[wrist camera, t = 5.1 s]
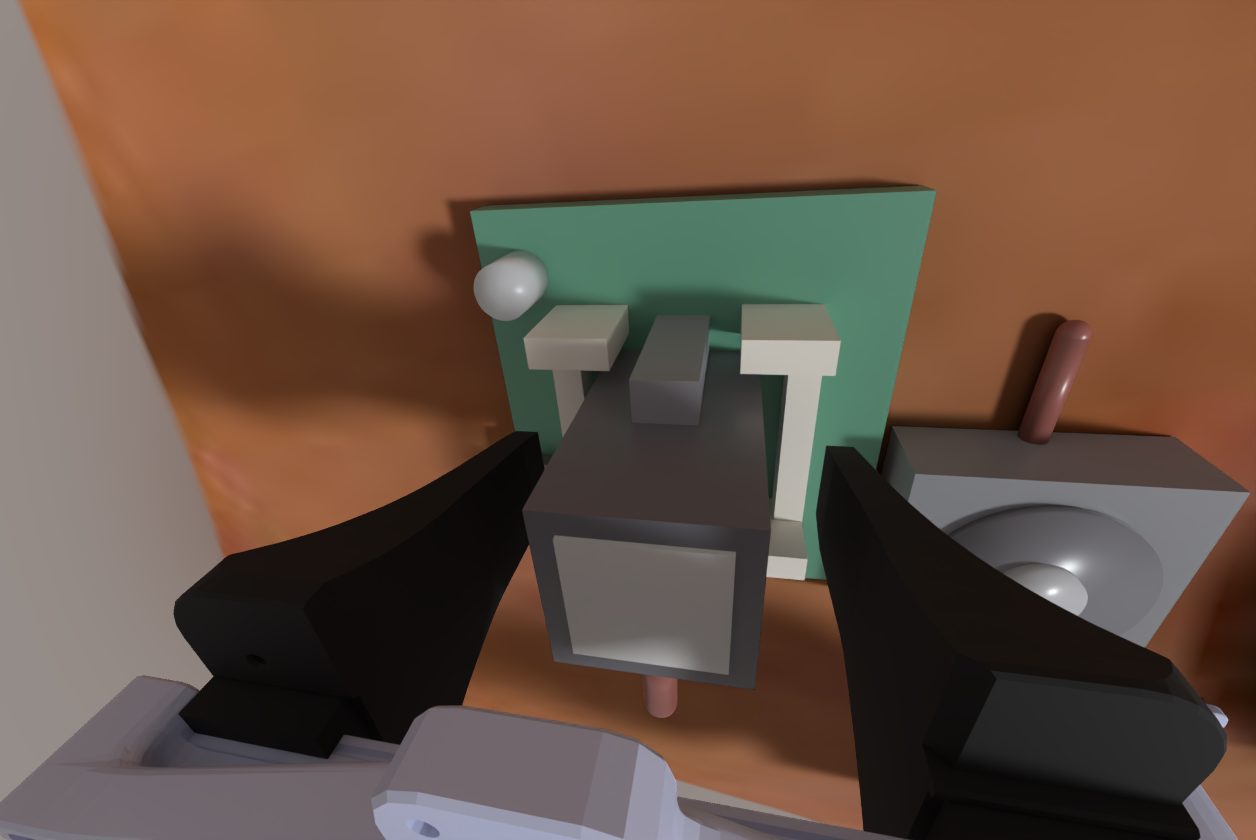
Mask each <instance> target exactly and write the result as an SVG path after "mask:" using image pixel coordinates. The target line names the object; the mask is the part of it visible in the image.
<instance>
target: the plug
mask: <svg viewBox="0 0 1256 840" xmlns="http://www.w3.org/2000/svg"><path fill="white" fill-rule="evenodd" d="M709 345H710V315H657V317H656V319H655V321H654V324H653V326H652V328H651V330H650V333H649V335H648V337H647V340H646V342H645V344H644V346H643V349H642V350H629V349H621V350H620V352H619V354H618V356H617V357H616V359H615V361H614V363H613V365H612V367H611V369H610V371H600V373H599V374H598V376H597V378H596V380H595V382H594V383H593V385H592V387H591V389H590V390H589V392H588V394H587V396H586V398H585V399H584V401H583V403H582V405H581V406H580V408H579V410H578V412H577V413H576V415H575V417H574V419H573V421H572V422H571V424H570V426H569V428H568V429H567V431H566V433H565V435H564V437H563V438H562V440H561V442H560V444H559V445H558V447H557V449H556V451H555V452H554V454H553V456H552V458H551V460H550V461H549V463H548V465H547V467H546V468H545V470H544V472H543V474H542V475H541V477H540V479H539V481H538V483H537V484H536V486H535V488H534V490H533V491H532V493H531V495H530V497H529V499H528V500H527V502H526V504H525V506H524V507H523V509H522V513H523V517H524V522H525V527H526V531H527V536H528V541H529V545H530V550H531V555H532V560H533V564H534V569H535V574H536V578H537V583H538V588H539V592H540V597H541V602H542V607H543V611H544V616H545V621H546V625H547V630H548V635H549V640H550V644H551V649H552V654H553V658H554V662H561V663H568V664H575V665H582V666H589V667H596V668H603V669H610V670H617V671H624V672H631V673H638V674H642V679H643V692H644V702H645V706H646V708H647V710H648V711H649V712H650V714H652V715H653V716H655V717H658V718H665V717H668V716H670V715H671V714H672V713H673V712H674V711H675V709H676V707H677V703H678V684H677V679H681V680H688V681H695V682H702V683H709V684H716V685H723V686H730V687H737V688H744V689H751V690H755V681H756V671H757V662H758V652H759V642H760V633H761V623H762V613H763V604H764V594H765V584H766V575H767V565H768V555H769V546H770V536H771V522H770V508H769V494H768V479H767V465H766V451H765V436H764V422H763V408H762V393H761V379H760V374H740V351H709Z"/></svg>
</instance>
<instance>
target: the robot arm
mask: <svg viewBox="0 0 1256 840" xmlns="http://www.w3.org/2000/svg"><path fill="white" fill-rule="evenodd" d="M544 470H545V469H544V463H543V457H542V452H541V446H540V441H539V435H538V432H529V431H515V432H513V433H511V434H510V435H508V436H506V437H504V438H503V439H501V440H499V441H498V442H496V443H495V444H493V445H491V446H490V447H488V448H487V449H485V450H484V451H482V452H481V453H479V454H477V455H476V456H474V457H473V458H471V459H469V460H468V461H466V462H465V463H463V464H462V465H460V466H458V467H457V468H455V469H453V470H452V471H450V472H448V473H446V474H445V475H443V476H441V477H439V478H438V479H436V480H434V481H433V482H431V483H429V484H427V485H426V486H424V487H422V488H420V489H418V490H416V491H414V492H412V493H410V494H408V495H407V496H404V497H402V498H400V499H398V500H396V501H394V502H392V503H390V504H387V505H385V506H383V507H381V508H378V509H376V510H373V511H371V512H368V513H366V514H363V515H361V516H358V517H356V518H353V519H351V520H348V521H346V522H343V523H340V524H338V525H335V526H332V527H329V528H326V529H323V530H320V531H317V532H314V533H311V534H307V535H304V536H301V537H298V538H294V539H291V540H287V541H284V542H280V543H276V544H272V545H268V546H264V547H260V548H256V549H252V550H248V551H244V552H240V553H235V554H231V555H228V556H227V557H226V558H224V559H223V560H222V561H221V562H220V563H219V564H218V565H217V566H215V567H214V568H213V569H212V570H211V571H209V573H207V574H206V575H205V576H204V577H202V578H201V579H200V580H199V581H198V582H196V583H195V584H194V585H193V586H192V587H191V588H189V589H188V590H187V591H186V592H185V593H183V594H182V595H181V596H180V597H179V598H178V599H177V600H176V601H175V606H174V618H175V622H176V625H177V627H178V629H179V630H180V632H181V633H182V635H183V636H184V638H185V639H186V641H187V642H188V643H189V645H190V646H191V647H192V648H193V650H194V651H195V652H196V654H197V655H198V656H199V658H200V659H201V660H202V662H203V663H204V664H205V666H206V667H207V668H208V670H209V671H210V672H211V673H212V675H213V676H214V677H213V678H212V679H211V680H210V681H209V682H208V683H207V684H206V685H205V686H204V687H203V688H202V689H201V690H200V691H199V690H198V689H196V688H195V687H193V686H191V685H189V684H186V683H183V682H178V681H172V680H167V679H161V678H156V677H150V676H138V677H136V678H135V679H134V680H133V681H132V682H131V683H130V684H128V686H127V687H125V688H124V689H123V690H122V691H121V692H120V693H119V694H118V695H117V696H115V697H114V698H113V699H112V700H111V701H110V702H109V703H108V704H107V705H106V706H105V707H103V708H102V709H101V710H100V711H99V712H98V713H97V714H96V715H95V716H94V717H93V718H91V719H90V720H89V721H88V722H87V723H86V724H85V725H84V726H83V727H82V728H81V729H80V730H78V731H77V732H76V733H75V734H74V735H73V736H72V737H71V738H70V739H69V740H68V741H66V742H65V743H64V744H63V745H62V746H61V747H60V748H59V749H58V750H57V751H56V752H54V753H53V755H51V756H50V757H49V758H48V759H47V760H46V761H45V762H44V763H43V764H41V765H40V766H39V767H38V768H37V769H36V770H35V771H34V772H33V773H32V774H31V775H30V776H28V777H27V778H26V779H25V780H24V781H23V782H22V783H21V784H20V785H19V786H18V787H17V788H15V789H14V790H13V791H12V792H11V793H10V794H9V795H8V796H7V797H6V798H4V799H3V800H2V801H1V802H0V835H1V836H2V837H4V838H6V839H7V840H1238V838H1237V837H1236V836H1235V834H1234V833H1233V831H1232V830H1231V828H1230V827H1229V825H1228V824H1227V822H1226V821H1225V820H1224V818H1223V817H1222V815H1221V814H1220V812H1219V811H1218V809H1217V808H1216V807H1215V805H1214V804H1213V802H1212V801H1211V799H1210V798H1209V796H1208V795H1207V793H1206V792H1205V791H1204V789H1203V788H1202V786H1201V785H1200V784H1201V783H1202V782H1203V781H1204V780H1205V779H1206V778H1207V777H1208V776H1209V775H1210V774H1211V773H1212V772H1213V771H1214V770H1215V768H1216V767H1217V765H1218V763H1219V762H1220V760H1221V759H1222V757H1223V756H1224V754H1225V752H1226V744H1227V734H1226V732H1225V730H1224V729H1223V728H1224V727H1225V726H1226V724H1227V722H1228V719H1227V717H1226V716H1225V714H1224V713H1223V712H1222V711H1221V709H1220V708H1218V707H1216V706H1214V705H1210V704H1205V702H1204V701H1203V700H1202V699H1201V697H1200V696H1199V695H1198V693H1197V692H1196V691H1195V690H1194V688H1193V687H1192V686H1191V685H1190V683H1189V682H1188V681H1187V680H1186V679H1185V677H1184V676H1183V675H1182V674H1181V672H1180V671H1179V670H1178V669H1177V668H1176V666H1175V665H1174V664H1173V663H1172V662H1171V661H1170V659H1168V658H1166V657H1164V656H1161V655H1159V654H1157V653H1155V652H1153V651H1151V650H1148V649H1146V648H1144V647H1142V646H1140V645H1138V644H1135V643H1133V642H1131V641H1129V640H1127V639H1125V638H1122V637H1120V636H1118V635H1116V634H1114V633H1112V632H1109V631H1107V630H1105V629H1103V628H1101V627H1099V626H1096V625H1094V624H1092V623H1090V622H1088V621H1086V620H1085V619H1083V618H1081V617H1079V616H1077V615H1075V614H1073V613H1071V612H1069V611H1067V610H1066V609H1064V608H1062V607H1060V606H1058V605H1056V604H1054V603H1052V602H1050V601H1049V600H1047V599H1045V598H1043V597H1042V596H1040V595H1038V594H1036V593H1035V592H1033V591H1031V590H1029V589H1028V588H1026V587H1024V586H1023V585H1021V584H1019V583H1018V582H1016V581H1014V580H1013V579H1011V578H1010V577H1008V576H1006V575H1005V574H1003V573H1001V572H1000V571H998V570H997V569H995V568H993V567H992V566H990V565H989V564H987V563H986V562H984V561H983V560H981V559H980V558H978V557H977V556H976V555H974V554H973V553H971V552H970V551H969V550H967V549H966V548H965V547H963V546H962V545H960V544H959V543H958V542H956V541H955V540H953V539H952V538H951V537H949V536H948V535H947V534H946V533H944V532H943V531H942V530H940V529H939V528H938V527H937V526H936V525H934V524H933V523H932V522H931V521H930V520H929V519H927V518H926V517H925V516H924V515H923V514H921V513H920V512H919V511H918V510H917V509H916V508H915V507H913V506H912V505H911V504H910V503H909V502H908V501H907V500H906V499H905V498H904V497H903V496H902V495H900V494H899V493H898V492H897V491H896V490H895V489H894V488H893V487H892V486H891V485H890V484H889V483H888V482H887V481H886V480H885V479H884V478H883V477H882V476H881V475H880V474H879V473H878V472H877V471H876V470H875V469H874V467H873V466H872V465H871V464H870V463H869V462H868V461H867V460H866V459H865V458H864V457H863V456H862V455H861V454H860V453H859V452H858V451H857V450H856V449H855V448H854V447H847V446H826V449H825V456H824V462H823V469H822V475H821V482H820V488H819V495H818V501H817V508H816V521H817V532H818V541H819V550H820V554H821V558H822V563H823V567H824V571H825V575H826V579H827V583H828V587H829V591H830V596H831V600H832V604H833V608H834V612H835V616H836V620H837V624H838V628H839V632H840V637H841V642H842V647H843V652H844V659H845V667H846V674H847V682H848V689H849V697H850V705H851V713H852V722H853V730H854V738H855V748H856V757H857V767H858V776H859V786H860V796H861V807H862V818H863V830H864V831H860V830H855V829H849V828H844V827H839V826H833V825H828V824H822V823H817V822H811V821H806V820H801V819H795V818H790V817H784V816H779V815H774V814H768V813H763V812H758V811H752V810H747V809H742V808H736V807H730V806H726V805H720V804H715V803H709V802H704V801H699V800H693V799H688V798H682V797H677V782H676V780H675V778H674V776H673V774H672V772H671V770H670V768H669V766H668V764H667V762H666V761H665V760H664V758H663V757H662V756H661V755H660V754H659V753H657V752H656V751H654V750H653V749H651V748H650V747H648V746H647V745H645V744H644V743H643V742H641V741H640V740H638V739H636V738H633V737H630V736H627V735H623V734H620V733H617V732H614V731H611V730H607V729H603V728H597V727H591V726H585V725H579V724H573V723H566V722H560V721H554V720H548V719H542V718H536V717H530V716H524V715H518V714H512V713H506V712H499V711H493V710H487V709H481V708H475V707H469V706H462V704H463V700H464V697H465V694H466V691H467V688H468V685H469V682H470V679H471V676H472V673H473V670H474V668H475V665H476V662H477V659H478V656H479V654H480V651H481V648H482V645H483V642H484V640H485V637H486V635H487V632H488V629H489V627H490V624H491V622H492V619H493V616H494V614H495V611H496V609H497V607H498V605H499V602H500V600H501V598H502V596H503V594H504V592H505V590H506V588H507V586H508V584H509V582H510V580H511V578H512V576H513V574H514V572H515V570H516V569H517V567H518V565H519V563H520V561H521V559H522V557H523V555H524V553H525V551H526V549H527V547H528V545H529V541H528V536H527V531H526V527H525V522H524V517H523V513H522V509H523V507H524V506H525V504H526V502H527V500H528V499H529V497H530V495H531V493H532V491H533V490H534V488H535V486H536V484H537V483H538V481H539V479H540V477H541V475H542V474H543V472H544Z"/></svg>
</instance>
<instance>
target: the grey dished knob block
mask: <svg viewBox="0 0 1256 840" xmlns="http://www.w3.org/2000/svg"><path fill="white" fill-rule="evenodd" d="M1091 337H1092V329H1091V327H1090V325H1088V324H1087V323H1086V322H1084V321H1081V320H1070V321H1067V322H1064V323H1063V324H1061V325H1060V326H1059V327H1058V328H1057V329H1056V331H1055V334H1054V337H1053V339H1052V342H1051V345H1050V347H1049V350H1048V353H1047V355H1046V358H1045V361H1044V364H1043V366H1042V369H1041V372H1040V374H1039V377H1038V380H1037V382H1036V385H1035V388H1034V390H1033V393H1032V396H1031V399H1030V401H1029V404H1028V407H1027V409H1026V412H1025V415H1024V417H1023V420H1022V423H1021V426H1020V428H1019V431H1008V430H983V429H957V428H932V427H906V426H892V428H891V433H890V437H889V442H888V446H887V451H886V455H885V459H884V464H883V468H882V473H881V476H882V477H883V478H884V479H885V480H886V481H887V482H888V483H889V484H890V485H891V486H892V487H893V488H894V489H895V490H896V491H897V492H898V493H899V494H900V495H902V496H903V497H904V498H905V499H906V500H907V501H908V502H909V503H910V504H911V505H912V506H913V507H915V508H916V509H917V510H918V511H919V512H920V513H921V514H923V515H924V516H925V517H926V518H927V519H929V520H930V521H931V522H932V523H933V524H934V525H936V526H937V527H938V528H939V529H940V530H942V531H943V532H944V533H946V534H947V535H948V536H949V537H951V538H952V539H953V540H955V541H956V542H958V543H959V544H960V545H962V546H963V547H965V548H966V549H967V550H969V551H970V552H971V553H973V554H974V555H976V556H977V557H978V558H980V559H981V560H983V561H984V562H986V563H987V564H989V565H990V566H992V567H993V568H995V569H997V570H998V571H1000V572H1001V573H1003V574H1005V575H1006V576H1008V577H1010V578H1011V579H1013V580H1014V581H1016V582H1018V583H1019V584H1021V585H1023V586H1024V587H1026V588H1028V589H1029V590H1031V591H1033V592H1035V593H1036V594H1038V595H1040V596H1042V597H1043V598H1045V599H1047V600H1049V601H1050V602H1052V603H1054V604H1056V605H1058V606H1060V607H1062V608H1064V609H1066V610H1067V611H1069V612H1071V613H1073V614H1075V615H1077V616H1079V617H1081V618H1083V619H1085V620H1086V621H1088V622H1090V623H1092V624H1094V625H1096V626H1099V627H1101V628H1103V629H1105V630H1107V631H1109V632H1112V633H1114V634H1116V635H1118V636H1120V637H1122V638H1125V639H1127V640H1129V641H1131V642H1133V643H1135V644H1138V645H1140V646H1142V647H1144V648H1145V646H1146V645H1147V644H1148V642H1149V641H1150V639H1151V638H1152V636H1153V635H1154V633H1155V632H1156V630H1157V629H1158V627H1159V626H1160V625H1161V623H1162V622H1163V620H1164V619H1165V617H1166V616H1167V614H1168V613H1169V611H1170V610H1171V608H1172V607H1173V606H1174V604H1175V603H1176V601H1177V600H1178V598H1179V597H1180V595H1181V594H1182V592H1183V591H1184V589H1185V588H1186V587H1187V585H1188V584H1189V582H1190V581H1191V579H1192V578H1193V576H1194V575H1195V573H1196V572H1197V570H1198V569H1199V568H1200V566H1201V565H1202V563H1203V562H1204V560H1205V559H1206V557H1207V556H1208V554H1209V553H1210V551H1211V550H1212V549H1213V547H1214V546H1215V544H1216V543H1217V541H1218V540H1219V538H1220V537H1221V535H1222V534H1223V532H1224V531H1225V530H1226V528H1227V527H1228V525H1229V524H1230V522H1231V521H1232V519H1233V518H1234V516H1235V515H1236V513H1237V512H1238V511H1239V509H1240V508H1241V506H1242V505H1243V503H1244V502H1245V500H1246V499H1247V497H1248V496H1249V494H1250V493H1251V492H1249V491H1248V490H1247V489H1245V488H1244V487H1242V486H1241V485H1240V484H1238V483H1237V482H1236V481H1234V480H1233V479H1232V478H1230V477H1229V476H1227V475H1226V474H1225V473H1223V472H1222V471H1221V470H1219V469H1218V468H1217V467H1215V466H1214V465H1212V464H1211V463H1210V462H1208V461H1207V460H1206V459H1204V458H1203V457H1202V456H1200V455H1199V454H1197V453H1196V452H1195V451H1193V450H1192V449H1191V448H1189V447H1188V446H1187V445H1185V444H1184V443H1182V442H1181V441H1180V440H1178V439H1177V438H1176V437H1162V436H1136V435H1111V434H1085V433H1060V432H1053V430H1054V427H1055V425H1056V422H1057V420H1058V417H1059V415H1060V413H1061V410H1062V408H1063V405H1064V403H1065V400H1066V398H1067V395H1068V393H1069V391H1070V388H1071V386H1072V383H1073V381H1074V378H1075V376H1076V374H1077V371H1078V369H1079V366H1080V364H1081V361H1082V359H1083V356H1084V354H1085V352H1086V349H1087V347H1088V344H1089V342H1090V339H1091Z"/></svg>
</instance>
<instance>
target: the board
mask: <svg viewBox="0 0 1256 840" xmlns="http://www.w3.org/2000/svg"><path fill="white" fill-rule="evenodd" d="M936 191H937V190H934V189H931V188H929V187H926V186H923V185H920V186H898V187H877V188H855V189H834V190H812V191H791V192H769V193H747V194H726V195H704V196H683V197H661V198H640V199H618V200H597V201H575V202H554V203H532V204H511V205H489V206H484V207H481V208H478V209H475V210H472V211H470V214H471V219H472V224H473V228H474V233H475V238H476V243H477V248H478V253H479V258H480V263H481V268H482V269H481V270H480V271H479V272H478V274H477V275H476V278H475V280H474V295H475V298H476V300H477V302H478V304H479V306H480V307H481V308H482V310H483V311H484V312H485V313H486V314H488V315H489V316H491V317H492V321H493V326H494V331H495V336H496V341H497V346H498V351H499V356H500V360H501V365H502V370H503V375H504V380H505V385H506V390H507V395H508V400H509V404H510V409H511V414H512V419H513V424H514V429H515V431H529V432H538V435H539V441H540V446H541V452H542V457H543V463H544V469H545V468H546V467H547V465H548V463H549V461H550V460H551V458H552V456H553V454H554V452H555V451H556V449H557V447H558V445H559V444H560V442H561V440H562V438H563V437H564V435H565V433H566V431H567V429H568V428H569V426H570V424H571V422H572V421H573V419H574V417H575V415H576V413H577V412H578V410H579V408H580V406H581V405H582V403H583V401H584V399H585V398H586V396H587V394H588V392H589V390H590V389H591V387H592V385H593V383H594V382H595V380H596V378H597V376H598V374H599V373H600V371H610V369H611V367H612V365H613V363H614V361H615V359H616V357H617V356H618V354H619V352H620V350H621V349H629V350H642V349H643V346H644V344H645V342H646V340H647V337H648V335H649V333H650V330H651V328H652V326H653V324H654V321H655V319H656V317H657V315H710V345H709V351H740V374H760V379H761V393H762V408H763V422H764V436H765V451H766V465H767V479H768V494H769V508H770V522H771V536H770V546H769V555H768V565H767V575H766V577H774V578H785V579H795V580H805V578H812V579H823V580H827V579H826V575H825V571H824V567H823V563H822V558H821V554H820V550H819V541H818V532H817V521H816V508H817V501H818V495H819V488H820V482H821V475H822V469H823V462H824V456H825V449H826V446H847V447H854V448H855V449H856V450H857V451H858V452H859V453H860V454H861V455H862V456H863V457H864V458H865V459H866V460H867V461H868V462H869V463H870V464H871V465H872V466H873V467H874V469H875V470H876V467H877V462H878V458H879V453H880V448H881V444H882V439H883V435H884V430H885V425H886V421H887V416H888V412H889V407H890V402H891V398H892V393H893V389H894V384H895V379H896V375H897V370H898V366H899V361H900V356H901V352H902V347H903V343H904V338H905V333H906V329H907V324H908V320H909V315H910V310H911V306H912V301H913V297H914V292H915V288H916V283H917V278H918V274H919V269H920V265H921V260H922V255H923V251H924V246H925V242H926V237H927V232H928V228H929V223H930V219H931V214H932V209H933V205H934V200H935V196H936Z"/></svg>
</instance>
